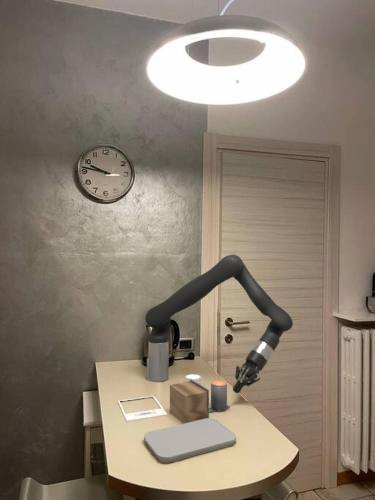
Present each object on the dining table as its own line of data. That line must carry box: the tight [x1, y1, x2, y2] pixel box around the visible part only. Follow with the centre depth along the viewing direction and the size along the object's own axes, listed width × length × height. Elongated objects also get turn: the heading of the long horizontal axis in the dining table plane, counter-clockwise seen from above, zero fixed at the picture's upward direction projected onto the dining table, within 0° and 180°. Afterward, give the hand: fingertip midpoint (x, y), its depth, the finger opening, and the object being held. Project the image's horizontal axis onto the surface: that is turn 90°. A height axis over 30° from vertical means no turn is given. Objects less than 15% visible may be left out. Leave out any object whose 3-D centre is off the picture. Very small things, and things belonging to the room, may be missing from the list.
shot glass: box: [184, 373, 202, 385], centre depth 153 cm, size 7×7×7 cm
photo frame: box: [117, 395, 168, 423], centre depth 138 cm, size 15×1×18 cm
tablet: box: [143, 417, 237, 464], centre depth 114 cm, size 16×26×2 cm, turn 117°
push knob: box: [210, 378, 228, 411], centre depth 138 cm, size 6×6×9 cm
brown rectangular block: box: [169, 379, 231, 424], centre depth 135 cm, size 21×12×11 cm, turn 119°
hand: (234, 391), depth 142 cm, fingers closed
